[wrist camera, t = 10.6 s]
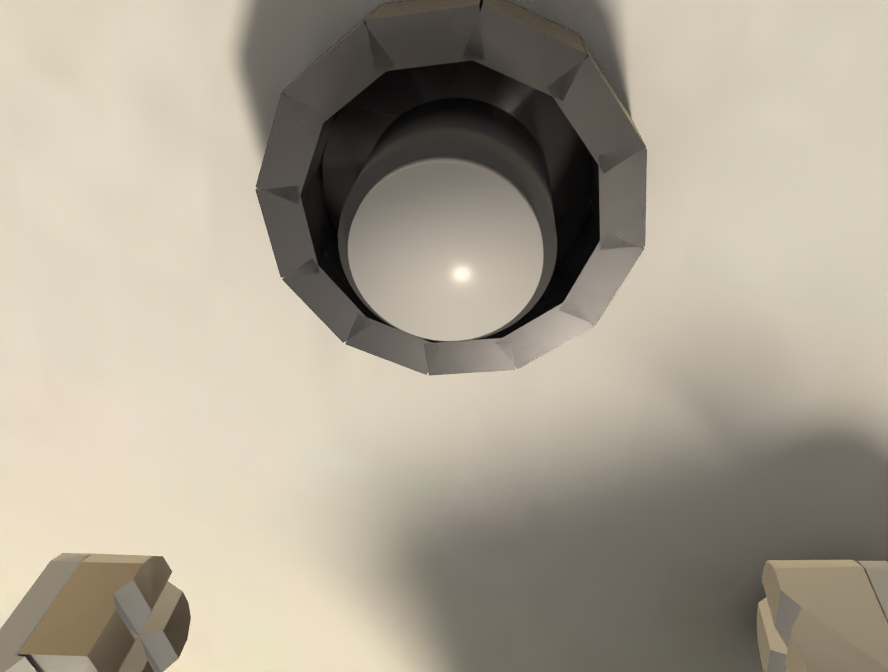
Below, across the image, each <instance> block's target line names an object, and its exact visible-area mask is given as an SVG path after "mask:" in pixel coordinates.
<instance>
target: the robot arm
mask: <svg viewBox="0 0 888 672" xmlns="http://www.w3.org/2000/svg"><path fill="white" fill-rule="evenodd" d="M171 573H172V571H171V569H170V567H169V566H168V564H167V562H166V561H165V559H164V557H163V556H140V555H114V554H83V553H62V554H61V555H59V556H58V557H56V558H54V559H53V560H51V561H50V562H49V564H48V565H47V567H46V568H45V569H44V571H43V572H42V573H41V575H40V576H39V577H38V579H37V580H36V582H35V583H34V584H33V586H32V587H31V588H30V590H29V591H28V592H27V594H26V595H25V596H24V598H23V599H22V601H21V602H20V603H19V605H18V606H17V607H16V609H15V610H14V611H13V613H12V614H11V616H10V617H9V618H8V620H7V621H6V622H5V624H4V625H3V626H2V628H1V629H0V672H163V671H164V670H165V669H167V668H168V667H169V666H170V665H171V664H172V663H174V662H175V661H176V660H177V659H178V658H179V656H180V654H181V652H182V650H183V647H184V645H185V643H186V641H187V637H188V631H189V625H190V619H191V616H190V610H189V603H188V601H187V599H186V597H185V595H184V593H183V592H182V591H181V590H180V589H178V588H177V587H175V586H174V585H172V584H171V583H170V582H168V580H169V577H170V575H171ZM762 583H763V587H764V590H765V594H766V597H765V598H764V599H763V600H762V601H760V602H759V603H758V610H757V620H756V622H757V641H758V648H759V653H760V659H761V664H762V668H763V672H888V561H853V560H767V562H766V563H765V565H764V568H763V574H762Z"/></svg>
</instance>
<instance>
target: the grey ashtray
mask: <svg viewBox="0 0 888 672" xmlns="http://www.w3.org/2000/svg"><path fill="white" fill-rule="evenodd" d="M455 97H458V98H470V99H475V100H480V101H484V102H486V103H489V104H492V105H495V106H497V107H499V108H500V109H502V110H504V111H506V112H508V113H509V114H510V115H512V116H513V117H515V118H516V119H517V120H518V121H519V122H521V123H522V124H523V125H524V126H525V127H526V128H527V129H528V131H529V132H530V133H531V134H532V136H533V137H534V138H535V140H536V142H537V143H538V145H539V147H540V148H541V151H542V153H543V155H544V158H545V161H546V164H547V168H548V172H549V180H550V188H551V195H552V203H553V211H554V219H555V227H556V235H557V255H556V262H555V267H554V270H553V273H552V277H551V279H550V281H549V284H548V286H547V288H546V290H545V291H544V293H543V295H542V296H541V298H540V299H539V301H538V302H537V303H536V304H535V305H534V306H533V308H532V309H531V310H530V311H529V312H528V313H527V314H525V315H524V316H523V317H522V318H521V319H520V320H518V321H517V322H515V323H514V324H512V325H511V326H509V327H507V328H505V329H504V330H502V331H500V332H498V333H495V334H492V335H490V336H487V337H483V338H479V339H475V340H469V341H462V342H442V341H433V340H428V339H423V338H419V337H416V336H413V335H410V334H407V333H405V332H403V331H400V330H398V329H396V328H394V327H393V326H391V325H389V324H387V323H386V322H384V321H383V320H382V319H380V318H379V317H378V316H376V315H375V314H374V313H373V312H372V311H371V310H370V309H369V308H368V307H367V306H365V304H364V303H363V302H362V301H361V300H360V298H359V297H358V296H357V295H356V293H355V291H354V290H353V288H352V287H351V285H350V283H349V281H348V279H347V277H346V275H345V273H344V270H343V267H342V263H341V260H340V255H339V249H338V228H339V220H340V217H341V213H342V209H343V206H344V204H345V202H346V200H347V197H348V195H349V193H350V191H351V189H352V187H353V186H354V184H355V182H356V180H357V178H358V176H359V174H360V172H361V170H362V169H363V167H364V165H365V163H366V161H367V159H368V157H369V155H370V153H371V151H372V150H373V148H374V146H375V144H376V142H377V141H378V139H379V138H380V136H381V134H382V133H383V132H384V131H385V130H386V128H387V127H388V126H389V125H390V124H391V123H392V122H393V121H394V120H395V119H397V118H398V117H399V116H400V115H402V114H403V113H405V112H406V111H408V110H410V109H412V108H414V107H416V106H418V105H420V104H423V103H426V102H429V101H432V100H437V99H442V98H455ZM340 109H341V110H340ZM339 110H340V112H339V114H338V111H339ZM337 114H338V115H337ZM588 150H589V152H590V156H589V152H588ZM323 157H324V159H323ZM322 160H323V168H322ZM646 164H647V149H646V146H645V144H644V142H643V140H642V138H641V136H640V134H639V132H638V130H637V128H636V126H635V124H634V122H633V120H632V118H631V116H630V115H629V113H628V112H627V110H626V108H625V107H624V105H623V104H622V102H621V100H620V99H619V97H618V96H617V94H616V92H615V91H614V89H613V88H612V86H611V84H610V83H609V81H608V80H607V78H606V76H605V75H604V73H603V72H602V70H601V68H600V67H599V65H598V64H597V62H596V60H595V59H594V57H593V56H592V54H591V52H590V51H589V49H588V48H587V46H586V44H585V43H584V41H583V40H582V38H581V36H579V35H578V34H577V33H575V32H573V31H571V30H569V29H566V28H564V27H562V26H560V25H558V24H556V23H554V22H552V21H549V20H547V19H545V18H543V17H541V16H539V15H537V14H535V13H532V12H530V11H528V10H526V9H524V8H522V7H520V6H517V5H515V4H513V3H511V2H509V1H507V0H407V1H400V2H392V3H385V4H382V5H381V6H380V5H379V6H378V7H377V8H376V9H375V10H374V11H372V12H371V13H370V14H369V15H368V16H367V17H366V18H364V19H363V20H362V21H361V22H360V23H359V24H358V25H356V26H355V27H354V28H353V29H352V30H351V31H350V32H348V33H347V34H346V35H345V36H344V37H343V38H342V39H340V40H339V41H338V42H337V43H336V44H335V45H334V46H332V47H331V48H330V49H329V50H328V51H327V52H326V53H324V54H323V55H322V56H321V57H320V58H319V59H318V60H316V61H315V62H314V63H313V64H312V65H311V66H309V67H308V68H307V69H306V70H305V71H304V72H303V73H302V74H301V75H300V76H299V77H298V78H297V79H295V80H294V81H293V82H292V83H291V84H290V85H289V86H288V87H287V88H286V89H285V90H284V91H283V93H282V94H281V97H280V100H279V104H278V107H277V111H276V115H275V118H274V122H273V126H272V129H271V133H270V137H269V140H268V144H267V148H266V151H265V155H264V158H263V162H262V166H261V169H260V173H259V177H258V180H257V184H256V187H257V189H256V193H257V197H258V200H259V204H260V207H261V210H262V214H263V217H264V221H265V224H266V228H267V231H268V235H269V238H270V242H271V245H272V249H273V252H274V256H275V259H276V262H277V266H278V269H279V273H280V276H281V277H283V279H282V280H283V281H284V282H285V283H286V284H287V285H288V286H289V287H290V288H291V289H292V290H293V291H294V292H295V293H296V294H297V295H298V296H299V297H300V298H301V299H302V300H303V302H304V303H305V304H306V305H307V306H308V307H309V308H310V309H311V310H312V311H313V312H314V313H315V314H316V315H317V316H318V317H319V318H320V319H321V320H322V321H323V322H324V323H325V324H326V325H327V326H328V327H329V328H330V329H331V331H332V332H333V333H334V334H335V335H336V336H337V337H338V338H339V339H340V340H341V341H342V342H343V343H344V342H345V341H346V345H349V346H352V347H354V348H357V349H360V350H362V351H365V352H368V353H370V354H373V355H375V356H378V357H381V358H383V359H386V360H389V361H391V362H394V363H397V364H399V365H402V366H404V367H407V368H410V369H412V370H415V371H418V372H420V373H423V374H426V375H427V373H428V372H429V375H442V374H458V373H473V372H489V371H505V370H515V367H516V368H517V369H519V368H520V367H522V366H524V365H526V364H528V363H529V362H531V361H533V360H535V359H537V358H538V357H540V356H542V355H544V354H545V353H547V352H549V351H551V350H553V349H554V348H556V347H558V346H560V345H562V344H563V343H565V342H567V341H569V340H571V339H572V338H574V337H576V336H578V335H580V334H581V333H583V332H585V331H587V330H588V329H590V328H592V327H594V326H593V324H595V325H596V323H597V322H598V320H599V319H600V317H601V316H602V314H603V312H604V311H605V309H606V308H607V306H608V305H609V303H610V301H611V300H612V298H613V297H614V295H615V294H616V292H617V290H618V289H619V287H620V286H621V284H622V283H623V281H624V280H625V278H626V276H627V275H628V273H629V272H630V270H631V269H632V267H633V265H634V264H635V262H636V261H637V259H638V258H639V256H640V254H641V253H642V251H643V250H644V247H643V246H645V220H646ZM590 196H591V205H590V207H589V202H590ZM588 207H589V209H588Z"/></svg>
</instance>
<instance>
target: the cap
mask: <svg viewBox="0 0 888 672" xmlns="http://www.w3.org/2000/svg"><path fill="white" fill-rule="evenodd" d="M338 249H339V255H340V260H341V263H342V267H343V270H344V273H345V275H346V277H347V279H348V281H349V283H350V285H351V287H352V288H353V290H354V291H355V293H356V295H357V296H358V297H359V298H360V300H361V301H362V302H363V303H364V304H365V306H367V307H368V308H369V309H370V310H371V311H372V312H373V313H374V314H375V315H376V316H378V317H379V318H380V319H382V320H383V321H384V322H386V323H387V324H389V325H391V326H393V327H394V328H396V329H398V330H400V331H403V332H405V333H407V334H410V335H413V336H416V337H419V338H423V339H428V340H433V341H442V342H462V341H469V340H475V339H479V338H483V337H487V336H490V335H492V334H495V333H498V332H500V331H502V330H504V329H505V328H507V327H509V326H511V325H512V324H514V323H515V322H517V321H518V320H520V319H521V318H522V317H523V316H524V315H525V314H527V313H528V312H529V311H530V310H531V309H532V308H533V306H534V305H535V304H536V303H537V302H538V301H539V299H540V298H541V296H542V295H543V293H544V291H545V290H546V288H547V286H548V284H549V281H550V279H551V277H552V273H553V270H554V267H555V262H556V255H557V235H556V227H555V219H554V211H553V203H552V195H551V188H550V180H549V172H548V168H547V164H546V161H545V158H544V155H543V153H542V151H541V148H540V147H539V145H538V143H537V142H536V140H535V138H534V137H533V136H532V134H531V133H530V132H529V131H528V129H527V128H526V127H525V126H524V125H523V124H522V123H521V122H519V121H518V120H517V119H516V118H515V117H513V116H512V115H510V114H509V113H508V112H506V111H504V110H502V109H500V108H499V107H497V106H495V105H492V104H489V103H486V102H484V101H480V100H475V99H470V98H458V97H455V98H442V99H437V100H432V101H429V102H426V103H423V104H420V105H418V106H416V107H414V108H412V109H410V110H408V111H406V112H405V113H403V114H402V115H400V116H399V117H398V118H397V119H395V120H394V121H393V122H392V123H391V124H390V125H389V126H388V127H387V128H386V130H385V131H384V132H383V133H382V134H381V136H380V138H379V139H378V141H377V142H376V144H375V146H374V148H373V150H372V151H371V153H370V155H369V157H368V159H367V161H366V163H365V165H364V167H363V169H362V170H361V172H360V174H359V176H358V178H357V180H356V182H355V184H354V186H353V187H352V189H351V191H350V193H349V195H348V197H347V200H346V202H345V204H344V206H343V209H342V213H341V217H340V220H339V228H338Z"/></svg>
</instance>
